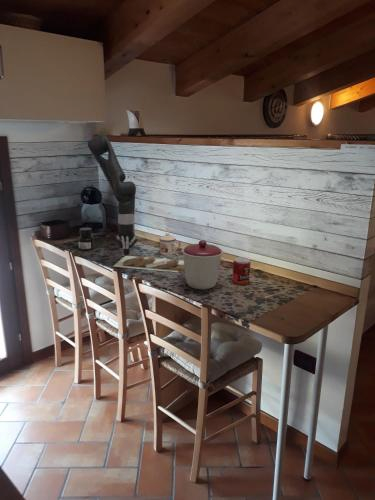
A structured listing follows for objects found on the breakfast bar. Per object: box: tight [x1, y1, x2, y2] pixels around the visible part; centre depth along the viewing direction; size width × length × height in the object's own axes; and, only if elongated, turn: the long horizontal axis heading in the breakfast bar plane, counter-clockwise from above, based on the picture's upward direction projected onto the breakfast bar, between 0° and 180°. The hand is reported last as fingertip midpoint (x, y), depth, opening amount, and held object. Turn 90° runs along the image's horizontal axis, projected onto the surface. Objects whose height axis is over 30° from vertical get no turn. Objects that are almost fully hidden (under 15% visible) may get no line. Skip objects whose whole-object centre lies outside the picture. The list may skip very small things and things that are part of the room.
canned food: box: [232, 256, 251, 286], centre depth 179 cm, size 8×8×11 cm
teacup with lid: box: [159, 233, 178, 256], centre depth 219 cm, size 12×9×12 cm
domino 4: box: [157, 258, 179, 269], centre depth 194 cm, size 5×2×10 cm
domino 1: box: [123, 255, 145, 266], centre depth 198 cm, size 5×2×10 cm
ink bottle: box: [77, 227, 95, 252], centre depth 225 cm, size 10×9×12 cm
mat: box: [113, 255, 184, 273], centre depth 202 cm, size 18×34×1 cm, turn 78°
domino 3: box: [146, 257, 168, 268], centre depth 196 cm, size 5×2×10 cm
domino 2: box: [134, 256, 156, 267], centre depth 197 cm, size 5×2×10 cm
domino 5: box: [169, 264, 185, 273], centre depth 194 cm, size 5×2×10 cm
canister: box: [181, 239, 224, 290], centre depth 172 cm, size 18×18×21 cm
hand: (126, 255), depth 198 cm, fingers closed
